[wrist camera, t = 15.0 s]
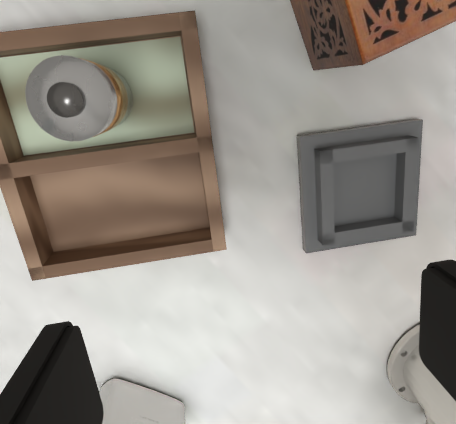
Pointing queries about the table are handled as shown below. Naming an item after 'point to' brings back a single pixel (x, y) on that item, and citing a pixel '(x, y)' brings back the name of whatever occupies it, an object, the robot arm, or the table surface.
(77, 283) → the table surface
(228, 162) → the table surface
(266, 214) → the table surface
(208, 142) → the wooden divided tray
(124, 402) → the photo printer
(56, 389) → the robot arm
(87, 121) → the cell
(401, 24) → the tissue box cover
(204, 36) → the table surface
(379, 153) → the tester cradle
